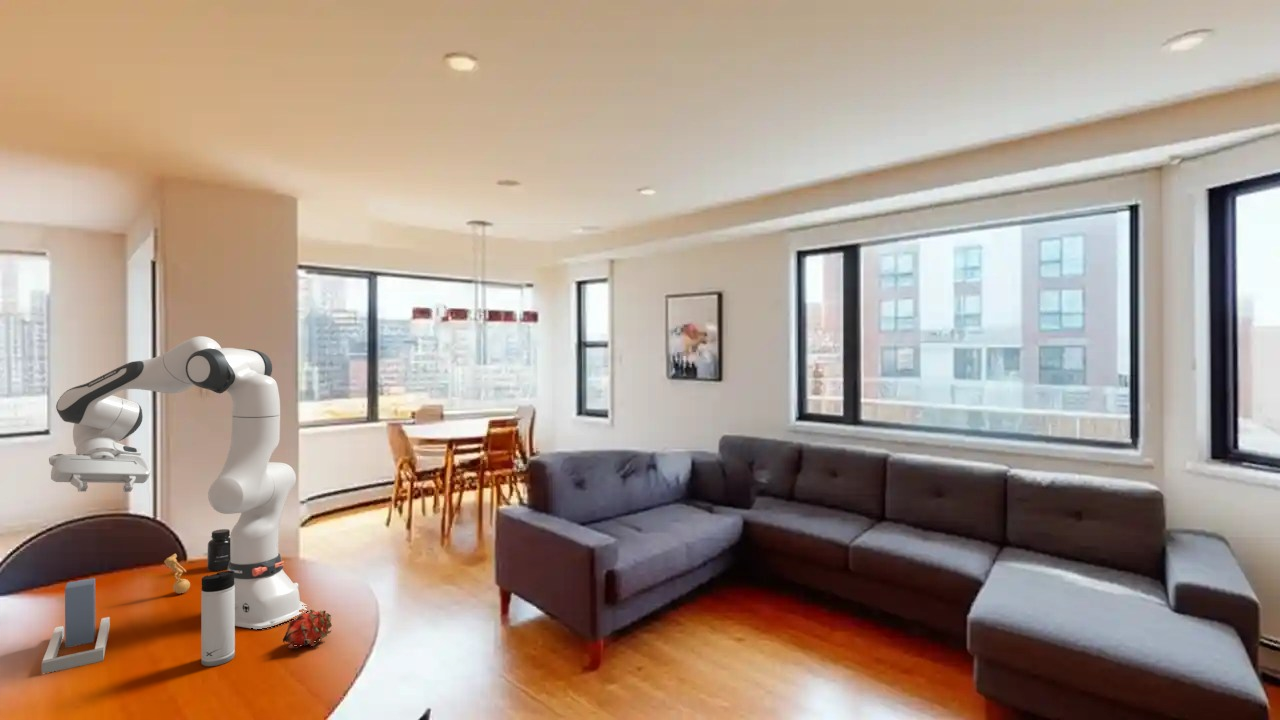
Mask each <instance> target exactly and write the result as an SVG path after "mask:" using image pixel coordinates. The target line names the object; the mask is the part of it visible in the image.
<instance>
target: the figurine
mask: <svg viewBox="0 0 1280 720" xmlns="http://www.w3.org/2000/svg"><path fill="white" fill-rule="evenodd" d="M177 557H178V555H177V553H174V554H172V555H170V556H169V557H166V559H165V560H164V561H163V562H164V565H165V566H166V568H167V569H170V570H171V571H172V572H175V573H174V574H173V576H174V579H175V580H176V581H175V582H174V584H173V585H172V589H173V592H174V593H176V594H180V595H181V593H182V594H184V593H186V592H187V591H189V589H190V588H191V582H190V581H189V580H188V579H186V578H180V577H181V576H182V574H183V573H187V570H186V569H185V568H184V567H183V566H182V565H181V564H180V563H179V562H178V560H177Z"/></svg>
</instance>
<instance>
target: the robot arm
mask: <svg viewBox="0 0 1280 720" xmlns="http://www.w3.org/2000/svg"><path fill="white" fill-rule="evenodd" d="M272 372H273V364H272V361H271V359H270V357H269V356H268V355H267V354H266V353H264V352H262V351H259V350H255V349H250V348H249V349H247V348H246V349H243V348H242V349H241V348H235V347H221V345H220V344H219V343H218V342H217V341H216V340H215V339H212V338H211V337H208V336H201V335H199V336H193V337H191V338H189V339H187V340H185V341H182V342H181V343H179V344H177V345H175V346H174V347H172V348H171V349H169V350H167V351H166V352H165V353H163V354H160V355H158V356H156V357H152V358H149V359H144V360H136V361H130V362H128V363H125V364H124V365H121V366H119V367H117V368H114V369H112V370H111V371H109V372H107V373H104V374H103V375H100V376H98V377H97V378H94V379H91V381H89V382H87V383H84V384H79V385H76V386H74V387H71V388H69V389H68V390H66V391H65V392H63V393H62V394H61V396H60V397H59V399H58V400H57V402H56V405H55V408H56V412H57V414H58V415H59V417H60V418H61V419H62V421H63V422H65V423H71V424H73V428H72V441H73V444H74V447H75V454H63V453H57V454H55V455H51V456H49V458H48V464H49V465H50V466H51V471H50V480H52V481H53V482H55V483H70V485H72V486H74V487H75V488H77V492H79V493H80V492H81V493H82V492H83V493H84V492H87V490H88V488H89V485H88V483H91V484H92V483H94V484H95V483H96V484H98V483H102V484H103V483H104V484H106V483H107V484H124V486H123V487H122V489H123V492H125V493H127V492H128V493H129V492H130V493H131V492H132V490H133V488H134V486H133V485H134V484H145V483H146V482H147V481H148V480H149V477H150V476H151V468H150V466H149V463H148V461H147V460H146V458H145V457H144V456H142V450H141V449H140V448H137V447H133V446H129V445H125V444H122V443H119V442H120V441H123V440H125V439H127V438H128V437H129V436H131V435H133V434H134V433H135V432H136V431H137V430H138V429H139V427H140V426H141V425H142V422H143V418H144V417H143V410H142V406H141V405H140V404H139V403H138V402H135V401H132V400H129V399H126V398H123V397H120V396H116V395H115V394H116V393H119V392H121V391H126V390H141V391H150V392H155V393H156V392H157V393H162V394H180V393H182V392H185V391H187V390H189V389H191V388H193V387H195V386H196V387H199V388H202V389H206V390H208V391H212V392H213V393H216V394H223V393H225V392H227V394H229V395H230V396H231V399H232V410H231V411H232V413H231V415H232V416H231V435H230V438H231V439H230V446H229V450H228V453H227V457H226V460H225V462H224V465H223V468H222V469H221V471H220V473H219V475H218V476H217V478H215V480H213V482H212V483H211V485H210V486H209V488H208V492H207V498H208V502H209V504H210V506H211V508H213V510H215V511H216V512H217V513H220V514H224V515H230V514H231V515H232V514H240V516H239V518H238V520H237V522H236V523H235V525H234V526H233V527H232V529H231V532H230V536H229V537H230V558H231V559H230V561H229V565H228V569H227V571H234V583H235V586H234V587H235V627H241V628H246V629H251V628H253V629H252V630H257V629H262V628H267V627H271V626H274V625H277V624H279V623H282V622H284V621H287V620H289V619H291V618H293V617H295V616H297V615H299V614H301V613H302V612H299V610H302V609H304V610H307V609H306V608H305V607H307V606H304V605H307V604H306V603H304V602H303V601H301V599H300V592H299V590H300V589H299V588H300V587H299V583H298V582H293V580H291V579H290V577H289V576H288V575H287V573H286V572H285V571H284V569H283V568H284V566H285V564H284V563H285V560H282V557H281V554H280V553H279V542H280V541H279V538H280V536H279V535H280V525H281V524H280V523H281V519H282V515H283V512H284V508H285V505H286V503H287V499H288V497H289V495H290V494H291V492H292V491H293V489H295V488H294V487H295V485H296V481H297V475H296V472H295V470H294V469H293V467H292V466H291V465H289V464H287V463H285V462H278V461H277V462H276V461H275V462H274V461H270V459H271V457H272V454H273V453H274V451H275V450H276V449H277V447H278V445H279V444H280V440H281V439H280V436H281V435H280V434H281V400H280V398H281V397H280V393H279V386H278V383H277V381H276V379H274V378H273V377H272ZM302 605H303V606H302ZM303 612H304V611H303ZM271 628H272V627H271ZM267 629H268V628H267ZM262 630H263V629H262Z"/></svg>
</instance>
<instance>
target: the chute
mask: <svg viewBox="0 0 1280 720" xmlns="http://www.w3.org/2000/svg"><path fill="white" fill-rule="evenodd" d="M110 620H111V618H110V616H107V617H101V621H100V625H99V629H98V633H97V639H96V643H95V646H94V649H89V650H85V651H79V652H76V653H71V654H65V655H63V656H62V655H61V656H58V655H57V654H59V652H60V649H59V648H61V646H60V645H62V643H61V642H63V640H62V639H64V638H65V625H60V626H56V627H55V628H54V630H53V632H52V636H51V638H50V641H49V643H48V646H47V647H46V648H47V649H46V650H45V651H46V652H45V653H44V656H43V659H42V661H41V675H42V674H43V673H47V674H49V673H48V672H52V673H55V672H54V671H56V672H60V671H64V670H69V669H73V668H78V667H81V666H88V665H91V664H96V663H99V662H103V661H104V658H105V653H106V648H107V641H108V638H109V632H110V626H111V625H110V623H111V621H110ZM58 651H59V652H58ZM59 670H60V671H59ZM43 675H44V674H43Z"/></svg>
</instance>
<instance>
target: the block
mask: <svg viewBox="0 0 1280 720" xmlns="http://www.w3.org/2000/svg"><path fill="white" fill-rule="evenodd" d="M95 637H96V578H95V577H94V578H87V579H82V580H77V581H76V580H74V581H69V582H67V583H66V585H65V588H64V646H65V647H64V648H65V649H67V648H66V647H69V648H73V647H76V646H75V645H78V646H82V645H81V644H83V645H87V644H90V643H91V644H92V643H94V642H95ZM86 643H87V644H86ZM72 646H73V647H72Z"/></svg>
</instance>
